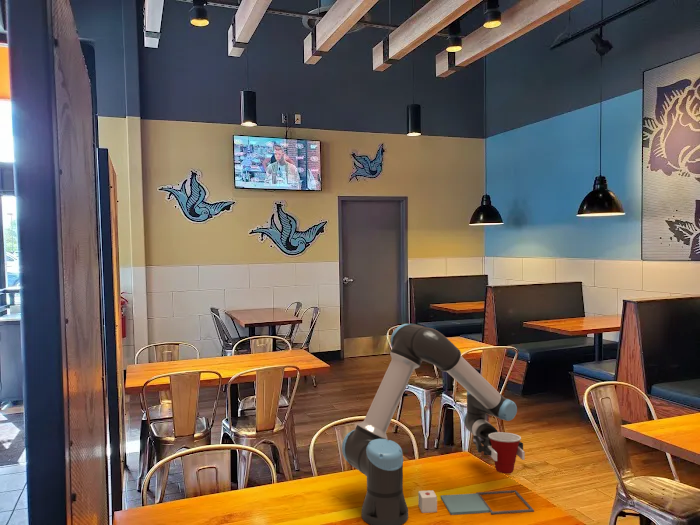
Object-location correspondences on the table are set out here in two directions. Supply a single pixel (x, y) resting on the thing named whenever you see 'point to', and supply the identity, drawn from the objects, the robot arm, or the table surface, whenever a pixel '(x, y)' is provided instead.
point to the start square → (506, 511)
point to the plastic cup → (505, 450)
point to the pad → (464, 504)
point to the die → (427, 501)
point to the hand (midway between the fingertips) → (509, 456)
